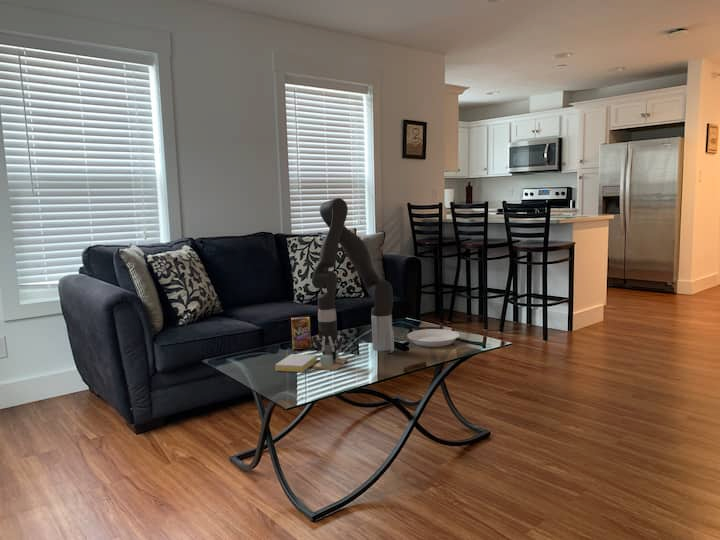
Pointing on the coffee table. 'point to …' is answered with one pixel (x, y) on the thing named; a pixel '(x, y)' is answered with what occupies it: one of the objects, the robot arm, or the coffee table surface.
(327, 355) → the block
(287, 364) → the block
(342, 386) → the coffee table surface
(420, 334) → the white plate
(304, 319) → the candy box
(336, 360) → the block
